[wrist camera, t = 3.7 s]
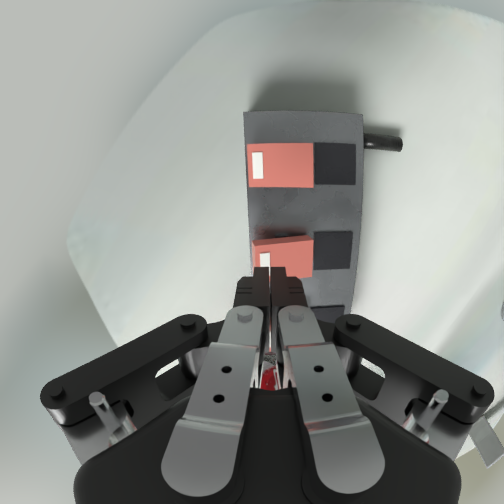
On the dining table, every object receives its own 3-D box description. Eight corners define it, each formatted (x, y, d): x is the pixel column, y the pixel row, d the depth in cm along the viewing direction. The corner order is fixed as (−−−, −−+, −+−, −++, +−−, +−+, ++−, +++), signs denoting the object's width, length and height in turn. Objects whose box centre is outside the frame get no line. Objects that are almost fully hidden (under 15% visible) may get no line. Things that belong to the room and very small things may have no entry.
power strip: (395, 124, 21) (419, 122, 17) (375, 323, 29) (388, 347, 25) (246, 117, 22) (242, 111, 18) (256, 331, 30) (255, 358, 26)
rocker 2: (307, 235, 21) (314, 240, 20) (306, 270, 22) (312, 277, 21) (251, 240, 20) (254, 246, 19) (253, 276, 22) (256, 284, 20)
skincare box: (465, 428, 43) (484, 469, 29) (485, 412, 41) (506, 452, 27) (468, 433, 45) (485, 471, 31) (487, 419, 43) (506, 455, 29)
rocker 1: (313, 143, 18) (312, 143, 16) (313, 185, 19) (313, 188, 18) (251, 144, 19) (246, 144, 18) (253, 184, 20) (248, 187, 19)
